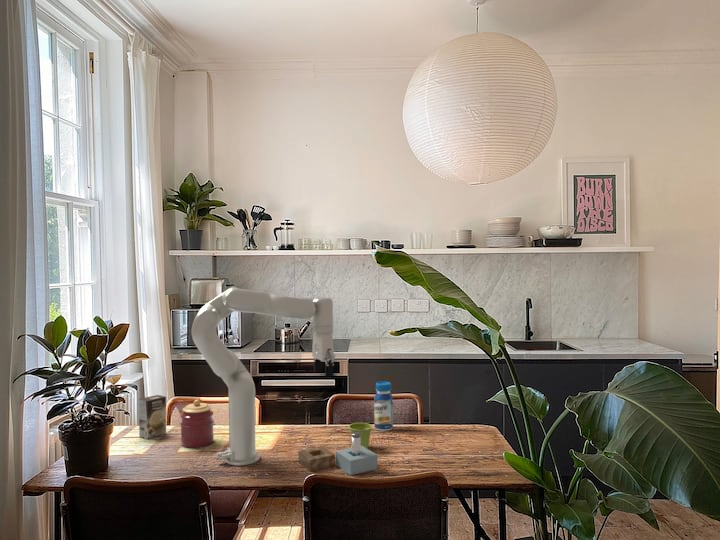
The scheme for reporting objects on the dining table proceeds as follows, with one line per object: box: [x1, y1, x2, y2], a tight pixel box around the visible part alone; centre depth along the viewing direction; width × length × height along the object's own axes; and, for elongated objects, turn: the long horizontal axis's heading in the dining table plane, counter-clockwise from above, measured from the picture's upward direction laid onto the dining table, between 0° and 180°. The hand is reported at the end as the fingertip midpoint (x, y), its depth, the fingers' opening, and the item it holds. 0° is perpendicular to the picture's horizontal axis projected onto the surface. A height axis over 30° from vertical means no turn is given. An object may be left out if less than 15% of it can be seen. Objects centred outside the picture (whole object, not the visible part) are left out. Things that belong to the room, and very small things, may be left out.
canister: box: [179, 399, 215, 449], centre depth 222 cm, size 13×13×18 cm
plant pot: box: [348, 422, 373, 450], centre depth 214 cm, size 9×9×9 cm
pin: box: [351, 432, 361, 456], centre depth 195 cm, size 3×3×12 cm
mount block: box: [298, 446, 336, 472], centre depth 198 cm, size 10×10×4 cm
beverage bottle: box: [373, 381, 394, 432], centre depth 238 cm, size 8×8×20 cm
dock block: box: [335, 446, 379, 476], centre depth 195 cm, size 11×11×5 cm
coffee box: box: [138, 394, 167, 440], centre depth 232 cm, size 9×6×16 cm
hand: (323, 373), depth 210 cm, fingers open, 9 cm apart
